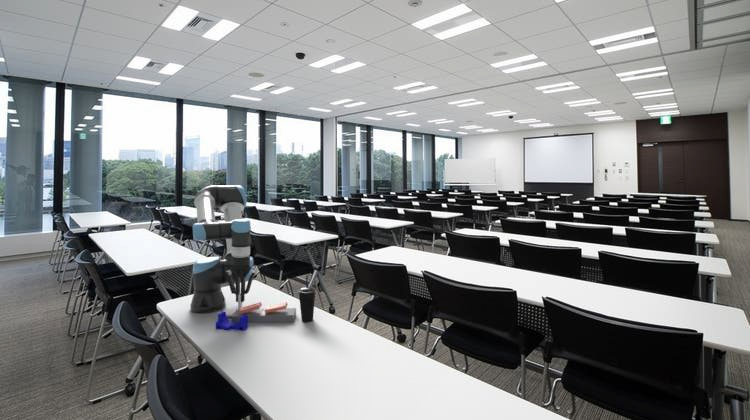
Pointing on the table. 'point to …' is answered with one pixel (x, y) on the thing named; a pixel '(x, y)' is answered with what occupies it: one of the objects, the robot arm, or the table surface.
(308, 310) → the drinking cup
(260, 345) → the table surface
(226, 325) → the cable clip
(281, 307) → the rocker
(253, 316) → the power strip
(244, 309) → the rocker
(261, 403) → the table surface
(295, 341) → the table surface
